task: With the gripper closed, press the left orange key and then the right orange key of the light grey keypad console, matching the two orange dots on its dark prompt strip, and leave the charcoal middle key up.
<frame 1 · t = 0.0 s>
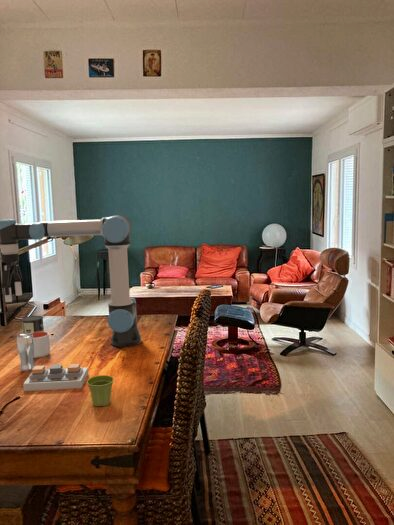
hand: (14, 298, 208), 28 cm above the table, tool pointing down, fingers open, 13 cm apart
console: (57, 382, 180), on the table
key 2: (73, 367, 179), point 6 cm above the table, slide at 0.0 cm
coffee can: (34, 345, 228), on the table
key 1: (38, 369, 179), point 6 cm above the table, slide at 0.0 cm
cup: (39, 355, 213), on the table
key middle: (56, 368, 179), point 6 cm above the table, slide at 0.0 cm
plant pot: (101, 403, 160), on the table
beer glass: (27, 368, 196), on the table
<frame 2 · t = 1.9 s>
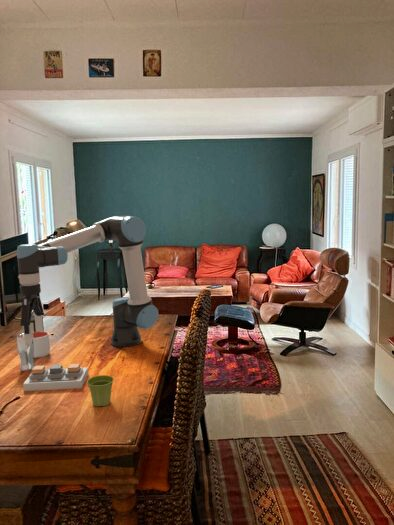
hand: (34, 336, 178), 19 cm above the table, tool pointing down, fingers open, 13 cm apart
nothing on the table moved.
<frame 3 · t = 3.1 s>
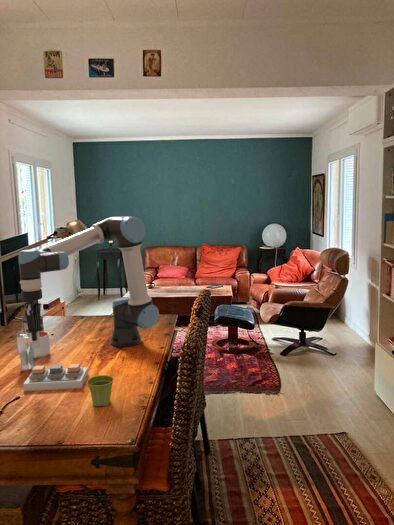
hand: (36, 347, 177), 15 cm above the table, tool pointing down, fingers closed
nothing on the table moved.
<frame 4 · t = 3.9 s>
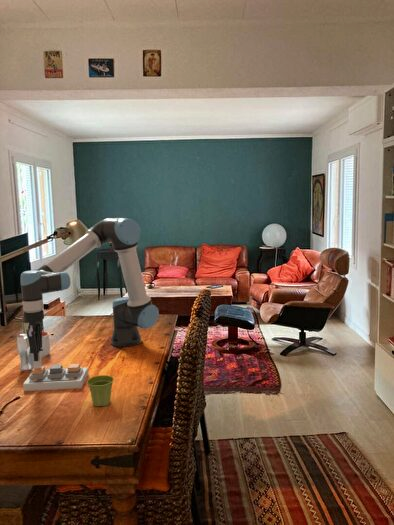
hand: (37, 367, 178), 7 cm above the table, tool pointing down, fingers closed
key 1: (38, 370, 179), point 5 cm above the table, slide at 0.3 cm, touching gripper
everything else where it was.
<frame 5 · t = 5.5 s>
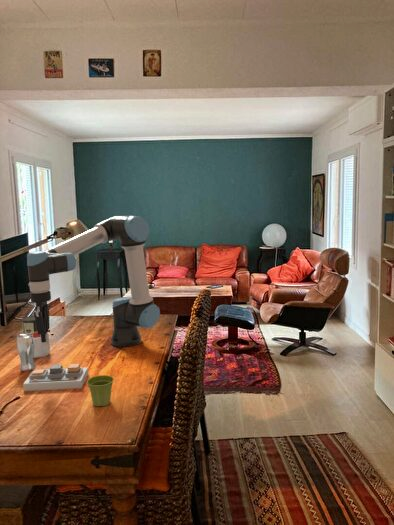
hand: (45, 349, 178), 14 cm above the table, tool pointing down, fingers closed
key 1: (38, 373, 179), point 4 cm above the table, slide at 1.6 cm
everything else where it was.
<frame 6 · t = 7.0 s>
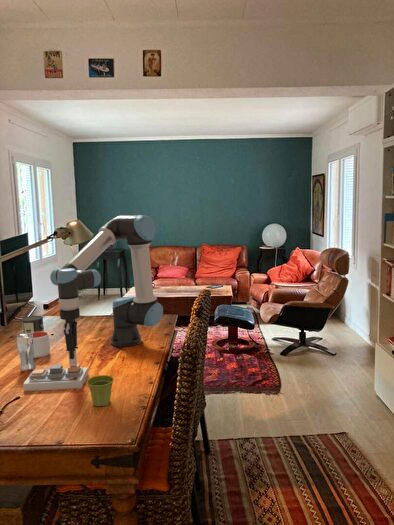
hand: (73, 365, 179), 7 cm above the table, tool pointing down, fingers closed
key 2: (73, 367, 179), point 6 cm above the table, slide at 0.1 cm, touching gripper
everything else where it was.
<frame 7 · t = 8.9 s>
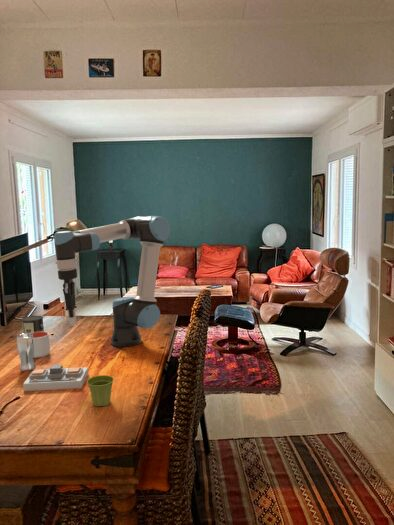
hand: (72, 324, 187), 21 cm above the table, tool pointing down, fingers closed
key 2: (74, 371, 180), point 4 cm above the table, slide at 1.6 cm
everything else where it was.
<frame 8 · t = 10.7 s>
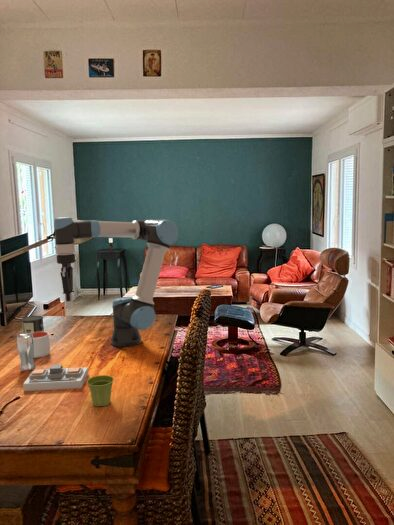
hand: (69, 307, 193), 26 cm above the table, tool pointing down, fingers closed
nothing on the table moved.
at the end: key 1 slide at 1.6 cm; key 2 slide at 1.6 cm; key middle slide at 0.0 cm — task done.
